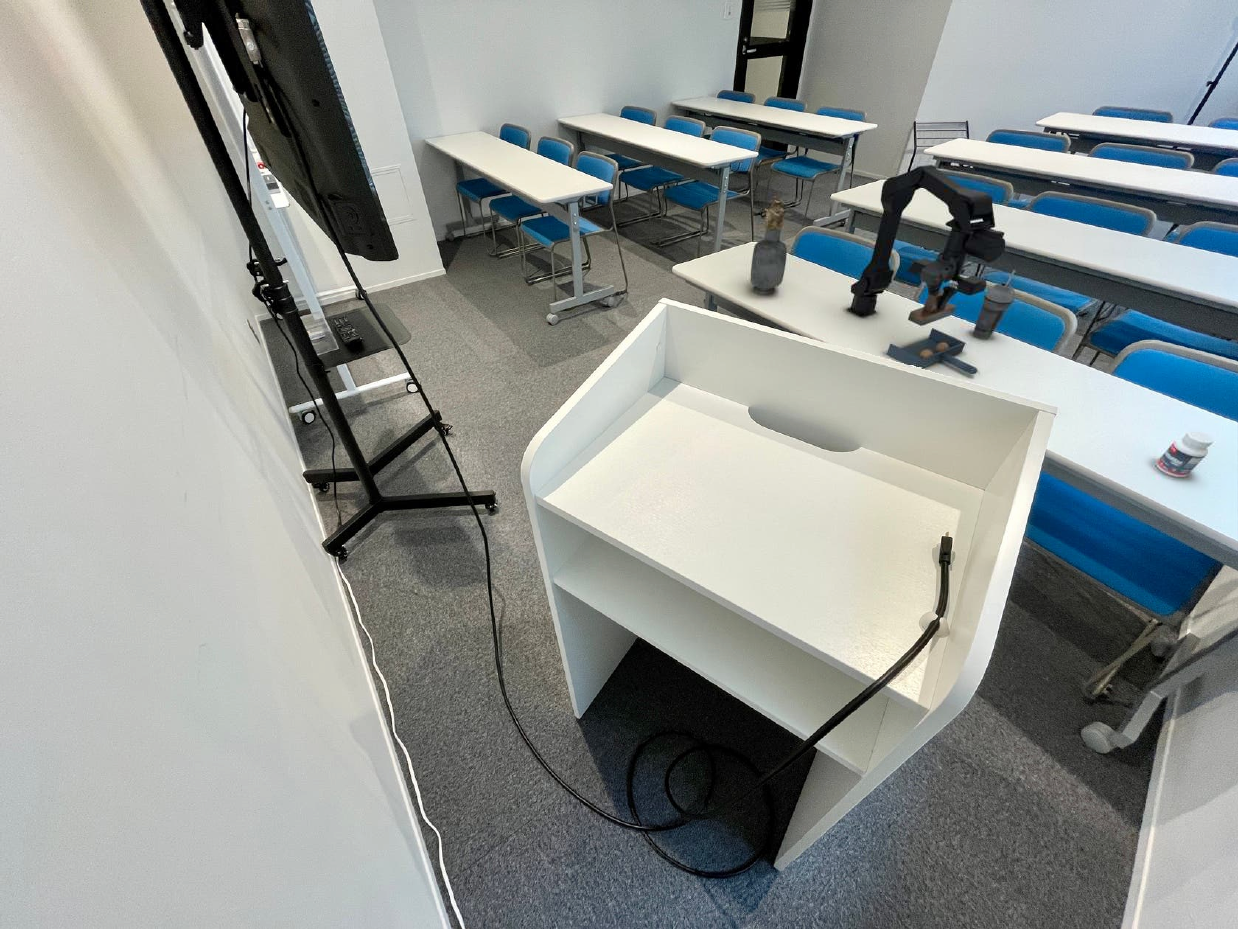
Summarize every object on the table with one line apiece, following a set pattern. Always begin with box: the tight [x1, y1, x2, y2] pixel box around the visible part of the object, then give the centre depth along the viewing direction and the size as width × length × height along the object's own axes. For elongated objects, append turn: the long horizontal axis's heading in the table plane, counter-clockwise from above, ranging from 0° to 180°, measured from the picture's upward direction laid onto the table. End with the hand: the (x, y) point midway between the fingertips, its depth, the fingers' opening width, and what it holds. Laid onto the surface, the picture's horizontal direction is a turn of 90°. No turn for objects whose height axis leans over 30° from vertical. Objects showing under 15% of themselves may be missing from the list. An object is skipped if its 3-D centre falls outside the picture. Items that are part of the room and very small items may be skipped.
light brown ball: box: [920, 350, 933, 359], centre depth 146 cm, size 3×3×3 cm
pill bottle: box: [1155, 430, 1215, 478], centre depth 108 cm, size 5×5×9 cm
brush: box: [907, 288, 957, 327], centre depth 143 cm, size 4×13×7 cm, turn 118°
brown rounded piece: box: [936, 343, 949, 353], centre depth 148 cm, size 3×3×3 cm
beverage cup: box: [972, 269, 1017, 340], centre depth 150 cm, size 7×7×20 cm
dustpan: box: [886, 327, 978, 375], centre depth 145 cm, size 20×18×3 cm
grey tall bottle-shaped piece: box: [750, 195, 790, 296], centre depth 177 cm, size 11×19×30 cm, turn 169°
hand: (934, 306), depth 144 cm, fingers closed on brush, 2 cm apart
